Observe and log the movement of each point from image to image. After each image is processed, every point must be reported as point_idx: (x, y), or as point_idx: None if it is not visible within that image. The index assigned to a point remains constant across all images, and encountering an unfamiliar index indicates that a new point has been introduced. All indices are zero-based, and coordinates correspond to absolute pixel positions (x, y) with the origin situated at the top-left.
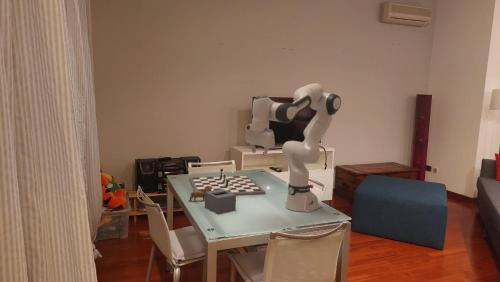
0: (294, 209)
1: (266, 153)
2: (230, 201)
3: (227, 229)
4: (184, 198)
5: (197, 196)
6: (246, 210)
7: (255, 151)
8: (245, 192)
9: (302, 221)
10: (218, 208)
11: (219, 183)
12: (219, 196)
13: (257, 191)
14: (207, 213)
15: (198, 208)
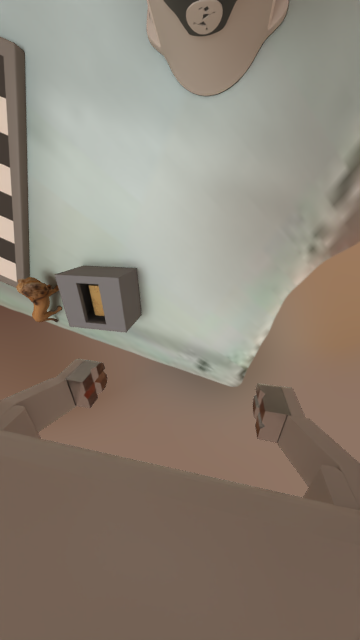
0: (235, 77)
1: (296, 412)
2: (127, 291)
3: (221, 347)
4: None
5: None
6: (148, 244)
7: (97, 369)
8: (17, 147)
9: (323, 141)
10: (136, 318)
11: None
12: (115, 321)
13: (9, 84)
14: None
15: None
